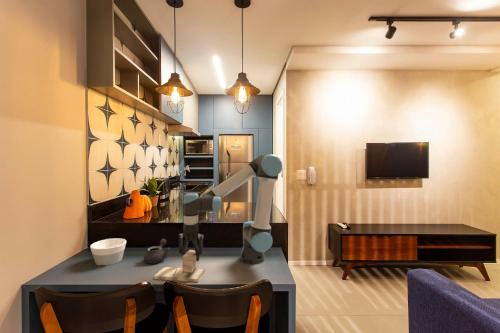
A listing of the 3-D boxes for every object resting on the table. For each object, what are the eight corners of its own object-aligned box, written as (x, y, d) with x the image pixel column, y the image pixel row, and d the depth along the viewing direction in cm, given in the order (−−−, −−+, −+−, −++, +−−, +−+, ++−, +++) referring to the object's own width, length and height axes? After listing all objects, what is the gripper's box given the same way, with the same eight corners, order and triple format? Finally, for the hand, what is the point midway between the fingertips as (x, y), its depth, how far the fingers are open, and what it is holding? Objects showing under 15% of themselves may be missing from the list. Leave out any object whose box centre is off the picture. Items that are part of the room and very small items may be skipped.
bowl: (94, 270, 142) (93, 251, 141) (87, 260, 156) (87, 242, 156) (130, 261, 155) (130, 243, 154) (121, 252, 169) (121, 236, 169)
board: (205, 272, 140) (205, 269, 140) (198, 282, 129) (198, 279, 129) (164, 269, 143) (164, 266, 143) (154, 278, 132) (154, 276, 132)
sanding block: (189, 265, 140) (189, 249, 139) (198, 265, 139) (198, 250, 139) (182, 272, 131) (182, 256, 131) (191, 273, 130) (191, 256, 130)
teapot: (167, 264, 150) (167, 247, 149) (140, 265, 149) (140, 248, 149) (175, 252, 168) (175, 237, 168) (151, 253, 168) (151, 238, 167)
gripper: (209, 222, 136) (209, 264, 137) (177, 220, 139) (177, 262, 140) (205, 225, 129) (205, 271, 130) (171, 224, 132) (171, 268, 132)
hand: (190, 266), depth 135 cm, fingers closed on sanding block, 5 cm apart
